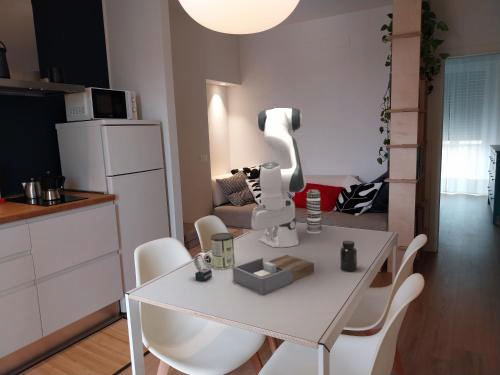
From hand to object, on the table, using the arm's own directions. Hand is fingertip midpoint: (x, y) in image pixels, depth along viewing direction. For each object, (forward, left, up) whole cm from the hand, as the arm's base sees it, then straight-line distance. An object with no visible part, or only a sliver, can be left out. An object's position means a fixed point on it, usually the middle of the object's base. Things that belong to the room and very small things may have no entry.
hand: (273, 236), depth 149 cm
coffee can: (-27, -7, -17) cm, 33 cm away
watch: (-20, -22, -17) cm, 34 cm away
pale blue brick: (-1, -1, -14) cm, 14 cm away
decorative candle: (-34, +64, -17) cm, 74 cm away
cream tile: (0, -7, -14) cm, 15 cm away
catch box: (0, -7, -17) cm, 19 cm away
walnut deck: (0, +8, -17) cm, 19 cm away
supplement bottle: (+16, +28, -17) cm, 37 cm away
